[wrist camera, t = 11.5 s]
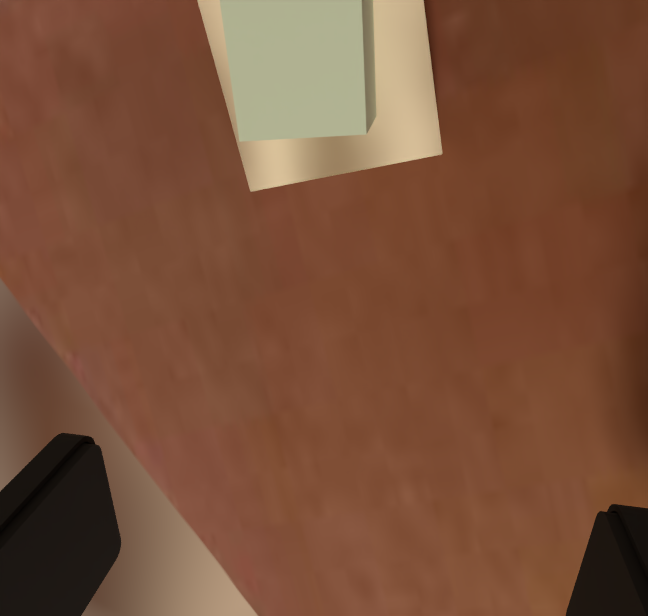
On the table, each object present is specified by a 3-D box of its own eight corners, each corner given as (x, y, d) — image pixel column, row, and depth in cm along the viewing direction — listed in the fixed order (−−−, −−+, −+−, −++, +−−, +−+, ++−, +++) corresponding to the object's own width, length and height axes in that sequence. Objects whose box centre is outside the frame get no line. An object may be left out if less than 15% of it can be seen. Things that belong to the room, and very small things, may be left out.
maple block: (412, -68, 26) (411, -94, 21) (438, 139, 29) (442, 154, 25) (226, -13, 28) (190, -26, 23) (273, 172, 32) (250, 191, 27)
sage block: (372, -5, 23) (360, -22, 17) (376, 116, 25) (366, 134, 19) (262, 6, 23) (218, -6, 18) (275, 122, 26) (239, 141, 20)
